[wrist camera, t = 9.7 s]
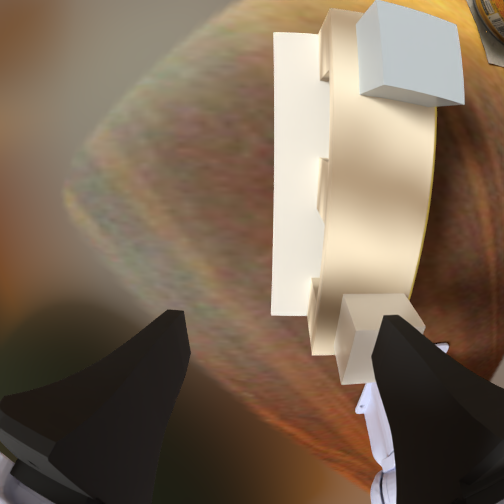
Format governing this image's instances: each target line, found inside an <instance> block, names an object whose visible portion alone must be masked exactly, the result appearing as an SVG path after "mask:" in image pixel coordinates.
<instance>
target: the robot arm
mask: <svg viewBox="0 0 504 504" xmlns="http://www.w3.org/2000/svg"><path fill="white" fill-rule="evenodd" d="M448 348H449V345H448V344H447V343H440V344H434V343H432V342H431V341H430V340H429V339H428V338H426V337H425V336H424V335H423V334H422V333H421V332H419V331H418V330H417V329H416V328H415V327H413V326H412V325H411V324H410V323H409V322H407V321H406V320H405V319H403V318H402V317H401V316H399V315H383V319H382V322H381V326H380V329H379V333H378V336H377V339H376V343H375V346H374V349H373V352H372V355H371V359H372V365H373V371H374V376H375V380H376V382H372V383H366V384H365V387H364V389H363V392H362V394H361V397H360V399H359V402H358V404H357V407H356V409H355V412H356V413H357V414H362V413H364V415H365V419H366V424H367V429H368V433H369V438H370V443H371V448H372V453H373V456H374V458H375V460H376V461H377V462H378V463H379V464H380V465H381V466H382V469H383V470H382V471H380V472H378V473H377V474H376V476H375V478H374V481H373V483H372V486H371V503H372V504H504V389H503V388H501V387H499V386H497V385H495V384H493V383H491V382H489V381H487V380H485V379H483V378H482V377H480V376H478V375H477V374H475V373H473V372H472V371H470V370H469V369H467V368H465V367H464V366H463V365H461V364H460V363H458V362H457V361H455V360H454V359H453V358H451V357H450V356H449V355H447V354H446V352H447V350H448ZM190 354H191V351H190V346H189V340H188V334H187V328H186V322H185V316H184V311H180V310H167V311H165V312H164V313H163V314H161V315H160V316H159V317H158V318H156V319H155V320H154V321H153V322H151V323H150V324H149V325H148V326H146V327H145V328H144V329H143V330H141V331H140V332H139V333H138V334H136V335H135V336H134V337H133V338H131V339H130V340H129V341H127V342H126V343H124V344H123V345H122V346H120V347H119V348H117V349H116V350H114V351H113V352H112V353H110V354H109V355H107V356H106V357H104V358H102V359H101V360H99V361H98V362H96V363H94V364H92V365H91V366H89V367H87V368H85V369H84V370H81V371H79V372H77V373H75V374H73V375H70V376H68V377H66V378H64V379H62V380H59V381H57V382H54V383H52V384H49V385H46V386H43V387H40V388H37V389H33V390H30V391H25V392H22V393H17V394H12V395H7V396H4V397H3V398H2V400H1V401H0V441H1V442H2V443H3V444H4V445H5V446H6V447H7V448H8V449H9V450H10V451H11V452H12V453H13V454H14V455H15V456H16V457H17V458H18V459H17V461H16V463H14V462H12V461H11V460H10V459H9V458H7V457H6V456H5V455H3V454H2V453H0V504H152V496H153V488H154V482H155V475H156V469H157V465H158V459H159V454H160V450H161V446H162V441H163V437H164V433H165V430H166V426H167V423H168V420H169V418H170V415H171V413H172V410H173V407H174V405H175V402H176V399H177V397H178V394H179V392H180V389H181V386H182V384H183V381H184V378H185V375H186V371H187V367H188V363H189V358H190Z"/></svg>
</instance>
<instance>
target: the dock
mask: <svg viewBox="0 0 504 504" xmlns="http://www.w3.org/2000/svg"><path fill="white" fill-rule="evenodd" d="M273 33H274V224H273V268H272V301H271V315H282V316H307V312H308V303H309V294H310V285H311V278H320V270H321V261H322V251H323V240H324V228H325V224H324V222H323V220H322V218H321V216H320V214H319V212H318V210H317V194H318V172H319V157H321V158H329V125H330V83H329V81H320V70H319V40H318V34H306V33H285V32H273ZM436 130H437V107H435V135H434V154H433V166H432V177H431V186H430V194H429V202H428V209H427V215H426V221H425V227H424V233H423V238H422V243H421V248H420V253H419V258H418V262H417V266H416V271H415V275H414V279H413V283H412V287H411V290H410V294H409V298H408V300H409V301H410V297H411V293H412V290H413V286H414V282H415V278H416V274H417V270H418V266H419V261H420V257H421V252H422V248H423V243H424V238H425V232H426V227H427V221H428V215H429V208H430V201H431V193H432V185H433V176H434V165H435V151H436Z"/></svg>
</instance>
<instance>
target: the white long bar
mask: <svg viewBox="0 0 504 504" xmlns="http://www.w3.org/2000/svg"><path fill="white" fill-rule="evenodd" d="M364 14H365V13H360V12H354V11H348V10H342V9H334V8H330V9H329V12H328V14H327V16H326V18H325V20H324V23H323V25H322V27H321V29H320V31H319V34H318V40H319V70H320V81H329V83H330V125H329V158H321V157H319V172H318V194H317V210H318V212H319V214H320V216H321V218H322V220H323V222H324V224H325V228H324V240H323V251H322V261H321V270H320V278H311V285H310V294H309V303H308V312H307V319H308V326H309V334H310V341H311V349H312V355H335V351H334V341H335V336H336V331H337V326H338V321H339V315H340V310H341V304H342V298H343V294H387V293H404V294H405V295H406V297H407V298H409V294H410V290H411V287H412V283H413V279H414V275H415V271H416V266H417V262H418V258H419V253H420V248H421V243H422V238H423V233H424V227H425V221H426V215H427V209H428V202H429V194H430V186H431V177H432V166H433V154H434V135H435V107H425V106H421V105H417V104H412V103H407V102H402V101H397V100H391V99H386V98H379V97H373V96H366V95H359V65H358V47H357V34H356V24H357V22H358V21H359V20H360V19H361V17H362V16H363V15H364Z"/></svg>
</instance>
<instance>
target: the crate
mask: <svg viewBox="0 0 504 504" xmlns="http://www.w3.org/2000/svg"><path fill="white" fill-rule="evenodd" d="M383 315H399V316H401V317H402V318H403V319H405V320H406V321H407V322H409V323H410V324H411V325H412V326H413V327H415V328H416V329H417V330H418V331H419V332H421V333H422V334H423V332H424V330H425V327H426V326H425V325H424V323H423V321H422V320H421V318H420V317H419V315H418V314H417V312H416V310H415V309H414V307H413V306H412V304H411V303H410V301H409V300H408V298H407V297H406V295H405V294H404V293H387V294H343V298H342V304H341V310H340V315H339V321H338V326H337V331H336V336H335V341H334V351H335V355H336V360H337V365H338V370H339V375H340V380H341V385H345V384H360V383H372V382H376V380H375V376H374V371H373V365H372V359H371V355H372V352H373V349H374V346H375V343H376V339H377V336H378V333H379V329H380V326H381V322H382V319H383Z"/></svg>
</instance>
